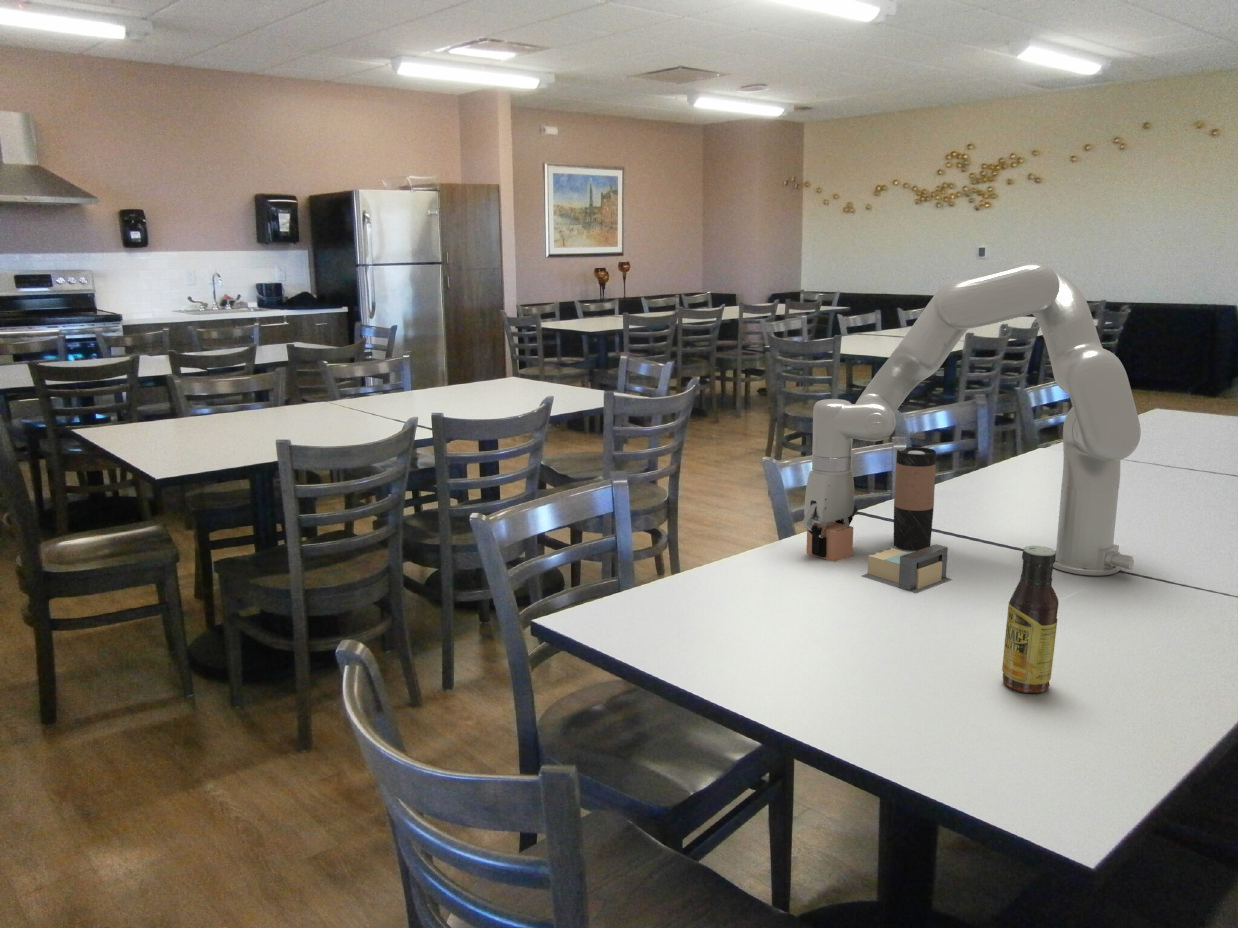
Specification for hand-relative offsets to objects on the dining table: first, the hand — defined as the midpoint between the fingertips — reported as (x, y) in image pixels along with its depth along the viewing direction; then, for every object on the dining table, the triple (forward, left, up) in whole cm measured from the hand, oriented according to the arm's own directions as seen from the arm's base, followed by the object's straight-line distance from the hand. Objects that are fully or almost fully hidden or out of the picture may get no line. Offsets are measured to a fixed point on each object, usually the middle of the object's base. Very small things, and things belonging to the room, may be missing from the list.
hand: (829, 551), depth 187 cm
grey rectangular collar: (-22, 0, -1) cm, 22 cm away
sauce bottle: (-55, +24, -1) cm, 60 cm away
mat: (-18, 0, -1) cm, 18 cm away
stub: (0, 0, -1) cm, 1 cm away
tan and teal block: (-18, 0, -1) cm, 18 cm away
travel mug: (-7, -17, -1) cm, 18 cm away
